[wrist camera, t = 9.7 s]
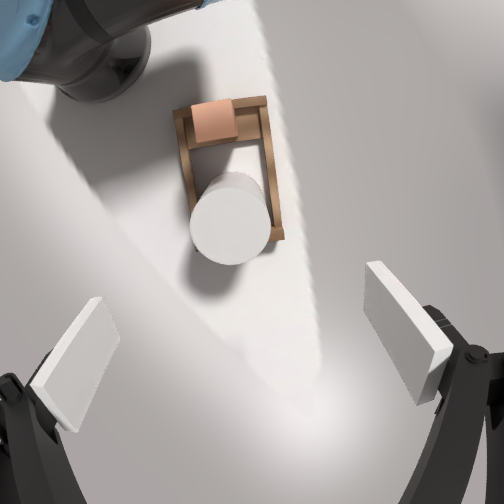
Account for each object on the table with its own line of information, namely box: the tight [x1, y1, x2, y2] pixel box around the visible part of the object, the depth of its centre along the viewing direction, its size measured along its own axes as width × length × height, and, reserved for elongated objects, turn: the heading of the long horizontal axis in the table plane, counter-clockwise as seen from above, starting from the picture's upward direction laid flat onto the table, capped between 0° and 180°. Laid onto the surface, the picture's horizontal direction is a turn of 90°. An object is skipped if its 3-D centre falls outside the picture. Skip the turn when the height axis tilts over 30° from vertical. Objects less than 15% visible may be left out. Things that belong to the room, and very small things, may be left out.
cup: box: [190, 172, 271, 265], centre depth 36 cm, size 8×8×12 cm
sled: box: [173, 95, 285, 252], centre depth 34 cm, size 19×12×13 cm, turn 8°
